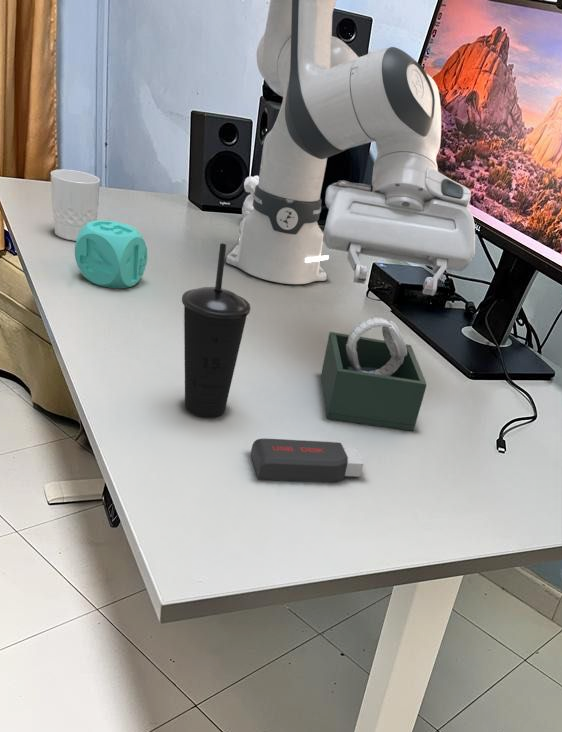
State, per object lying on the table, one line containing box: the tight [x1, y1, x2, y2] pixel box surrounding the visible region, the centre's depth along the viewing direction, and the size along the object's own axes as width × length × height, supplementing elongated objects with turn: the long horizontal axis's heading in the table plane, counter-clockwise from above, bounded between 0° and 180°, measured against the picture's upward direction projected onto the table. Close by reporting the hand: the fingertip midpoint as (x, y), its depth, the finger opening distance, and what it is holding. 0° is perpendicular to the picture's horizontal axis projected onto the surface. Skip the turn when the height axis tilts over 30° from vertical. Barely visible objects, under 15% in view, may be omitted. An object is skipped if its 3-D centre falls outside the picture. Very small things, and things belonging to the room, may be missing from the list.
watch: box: [346, 316, 407, 376], centre depth 101 cm, size 6×8×11 cm
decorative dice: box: [74, 220, 148, 289], centre depth 119 cm, size 8×8×8 cm
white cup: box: [50, 169, 101, 242], centre depth 133 cm, size 8×8×10 cm
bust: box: [241, 175, 259, 219], centre depth 162 cm, size 12×8×11 cm
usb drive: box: [250, 438, 364, 483], centre depth 86 cm, size 5×12×3 cm, turn 105°
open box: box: [320, 331, 428, 432], centre depth 102 cm, size 13×12×7 cm
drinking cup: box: [181, 242, 252, 419], centre depth 88 cm, size 8×8×20 cm
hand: (394, 287), depth 100 cm, fingers open, 8 cm apart
